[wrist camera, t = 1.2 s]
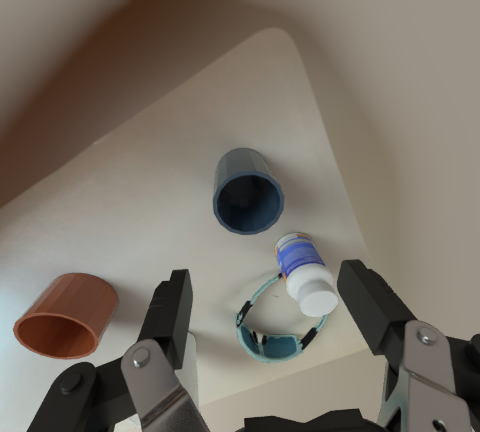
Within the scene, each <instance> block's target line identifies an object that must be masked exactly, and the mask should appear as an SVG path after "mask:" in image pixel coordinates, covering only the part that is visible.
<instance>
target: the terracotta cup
mask: <svg viewBox="0 0 480 432" xmlns="http://www.w3.org/2000/svg"><path fill="white" fill-rule="evenodd" d="M118 301H119V300H118V295H117V293H116V291H115V290H114V289H113V288H112V286H110V285H109V284H108V283H107V282H105V281H104V280H102V279H100V278H97V277H95V276H92V275H88V274H83V273H69V274H64V275H62V276H59V277H57V278H56V279H55V280H54V281H53V282H52V283H50V284H49V285H48V287H47V288H46V289H45V290H44V291H43V292H42V293H41V294H40V295H39V297H38V298H37V299H36V300H35V301H34V302H33V303H32V304H31V306H30V307H29V308H28V309H27V310H26V311H25V312H24V313H23V314H22V316H21V317H20V318H19V319H18V320H17V321H16V322H15V325H14V328H13V332H14V335H15V338H16V339H17V340H18V341H19V342H20V344H21V345H23V346H24V347H26V348H27V349H29V350H31V351H33V352H35V353H37V354H40V355H42V356H46V357H50V358H55V359H79V358H82V357H86V356H88V355H90V354H91V353H93V352H94V351H95V350H96V348H97V347H98V345H99V343H100V341H101V339H102V337H103V335H104V333H105V331H106V329H107V327H108V325H109V323H110V321H111V319H112V317H113V315H114V313H115V311H116V308H117V306H118Z"/></svg>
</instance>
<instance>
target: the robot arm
mask: <svg viewBox="0 0 480 432" xmlns="http://www.w3.org/2000/svg"><path fill="white" fill-rule="evenodd" d="M337 289H338V292H339V294H340V296H341V298H342V300H343V301H344V303H345V305H346V307H347V308H348V310H349V312H350V314H351V316H352V317H353V319H354V321H355V323H356V324H357V326H358V328H359V330H360V332H361V333H362V335H363V337H364V339H365V340H366V342H367V344H368V346H369V348H370V349H371V351H372V353H373V354H374V356H375V355H385V357H386V359H387V362H386V366H385V375H384V385H383V394H382V403H381V409H380V412H379V416H378V419H377V423H374V422H372V421H369V420H367V419H363V418H362V415H361V413H360V410H359V409H346V410H335V411H330V412H327V413H325V414H323V415H321V416H319V417H317V418H315V419H313V420H311V421H309V422H306V423H300V422H296V421H292V420H288V419H283V418H280V417H276V416H265V417H253V418H245V419H244V424H245V427H243V428H241V429H239V430H237V431H236V432H472V429H471V426H472V428H473V429H474V431H475V432H480V334H476V335H474V336H473V337H472V338H471V340H470V341H466V340H461V339H457V338H452V337H448V336H444V335H443V334H442V333H441V332H440V331H439V330H438V329H437V328H435V327H434V326H432V325H430V324H428V323H426V322H423V321H419V320H417V318H416V317H415V316H414V315H413V314H412V312H411V311H410V310H409V309H408V308H407V306H406V305H405V304H404V303H403V302H402V300H401V299H400V298H399V297H398V296H397V295H396V293H394V292H393V290H392V289H391V288H390V286H388V284H387V283H386V282H385V280H384V279H383V278H382V277H381V276H380V275H379V274H377V273H376V272H375V271H373V270H372V269H367V268H366V267H365V265H364V264H363V263H362V262H361V261H360V260H358V259H356V260H344V261H342V264H341V268H340V272H339V276H338V280H337ZM192 301H193V292H192V285H191V280H190V274H189V270H188V269H181V270H173V271H172V274H171V277H170V281H162V282H161V283H160V284H159V286H158V287H157V288H156V289H155V292H154V295H153V297H152V301H151V303H150V306H149V309H148V312H147V314H146V317H145V320H144V323H143V326H142V329H141V332H140V334H139V337H138V340H137V342H136V343H135V344H134V345H132V346H131V347H130V348H129V349H128V350H127V351H126V353H125V354H124V355H123V356H122V357H120V358H118V359H116V360H114V361H111V362H108V363H106V364H103V365H101V366H98V367H94V365H93V364H92V363H89V362H81V363H77V364H75V365H72V366H71V367H69V368H67V369H66V370H65V371H63V372H62V373H61V374H60V375H59V376H58V377H57V378H56V380H55V381H54V382H53V384H52V385H51V387H50V389H49V391H48V393H47V395H46V396H45V398H44V400H43V402H42V404H41V406H40V408H39V410H38V411H37V413H36V415H35V417H34V419H33V421H32V423H31V424H30V426H29V428H28V430H27V432H113V431H114V428H115V424H116V423H118V422H120V421H123V420H125V419H127V418H129V417H131V416H133V415H135V414H138V416H139V419H140V423H141V429H142V432H210V430H209V429H208V427H207V425H206V423H205V421H204V420H203V418H202V416H201V414H200V413H199V411H198V409H197V407H196V405H195V404H194V402H193V400H192V398H191V397H190V395H189V393H188V392H187V390H186V389H185V388H183V386H182V385H181V383H180V381H179V379H178V378H177V376H176V374H175V370H180V369H182V367H183V360H184V354H185V347H186V341H187V334H188V328H189V321H190V315H191V308H192Z"/></svg>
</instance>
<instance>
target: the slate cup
mask: <svg viewBox="0 0 480 432" xmlns="http://www.w3.org/2000/svg"><path fill="white" fill-rule="evenodd" d="M283 208H284V195H283V192H282V190H281V187H280V185H279V183H278V181H277V180H276V178H275V176H274V174H273V173H272V171H271V169H270V167H269V166H268V164H267V162H266V160H265V159H264V158H263V157H262V156H261V155H260V154H259V153H258V152H256V151H254V150H252V149H248V148H237V149H234V150H231V151H229V152H228V153H226V154H225V155H224V156H223V157H222V158H221V160H220V161H219V163H218V166H217V169H216V174H215V183H214V193H213V210H214V214H215V216H216V218H217V220H218V221H219V223H220V224H221V225H222V226H223V227H225V228H226V229H227V230H229V231H230V232H234V233H237V234H241V235H253V234H258V233H260V232H263V231H265V230H267V229H269V228H270V227H271V226H272V225H273V224H275V223H276V222H277V221H278V219H279V217H280V215H281V213H282V211H283Z"/></svg>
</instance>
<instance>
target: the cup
mask: <svg viewBox="0 0 480 432" xmlns="http://www.w3.org/2000/svg"><path fill="white" fill-rule="evenodd" d="M175 374H176V376H177V378H178V379H179V381H180V383H181V385H182V386H183V388H185V389H186V390H187V392H188V393H189V395H190V397H191V398H192V400H193V402H194V404H195V405H196V407H197V409H198V411H199V413H200V414H201V411H200V409H199V397H198V379H197V360H196V340H195V338H194V336H193V335H192V334H191V333H189V332H188V334H187V341H186V347H185V354H184V360H183V367H182V369H180V370H175ZM127 420H128V421H129V422H130V423H131V424H133V425H134V426H137V427H139V428H141V423H140V419H139V416H138V414H135V415H133V416H131V417H129V418H127Z"/></svg>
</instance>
